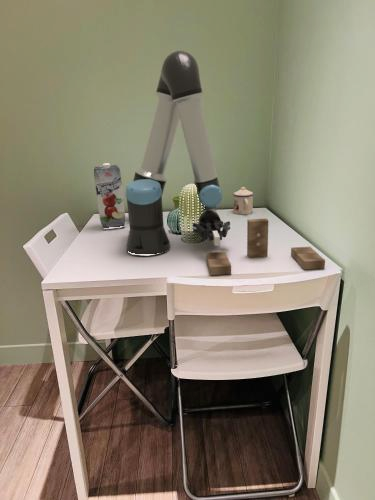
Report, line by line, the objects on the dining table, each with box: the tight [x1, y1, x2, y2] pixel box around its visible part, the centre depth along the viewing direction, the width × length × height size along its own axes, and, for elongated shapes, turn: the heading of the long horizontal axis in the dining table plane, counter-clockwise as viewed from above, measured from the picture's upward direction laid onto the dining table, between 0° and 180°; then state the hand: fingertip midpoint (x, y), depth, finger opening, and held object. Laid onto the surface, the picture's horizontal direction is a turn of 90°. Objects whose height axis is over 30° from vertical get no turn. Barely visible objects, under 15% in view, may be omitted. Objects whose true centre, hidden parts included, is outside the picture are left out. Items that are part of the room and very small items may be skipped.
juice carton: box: [93, 162, 126, 229], centre depth 154 cm, size 9×10×27 cm
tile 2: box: [246, 218, 269, 259], centre depth 116 cm, size 6×3×12 cm, turn 93°
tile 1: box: [205, 251, 232, 276], centre depth 111 cm, size 6×3×12 cm
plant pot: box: [171, 195, 180, 210], centre depth 170 cm, size 9×9×9 cm
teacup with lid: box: [232, 186, 254, 215], centre depth 169 cm, size 12×9×12 cm
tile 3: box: [290, 246, 326, 271], centre depth 112 cm, size 6×3×12 cm
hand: (217, 241), depth 109 cm, fingers closed
